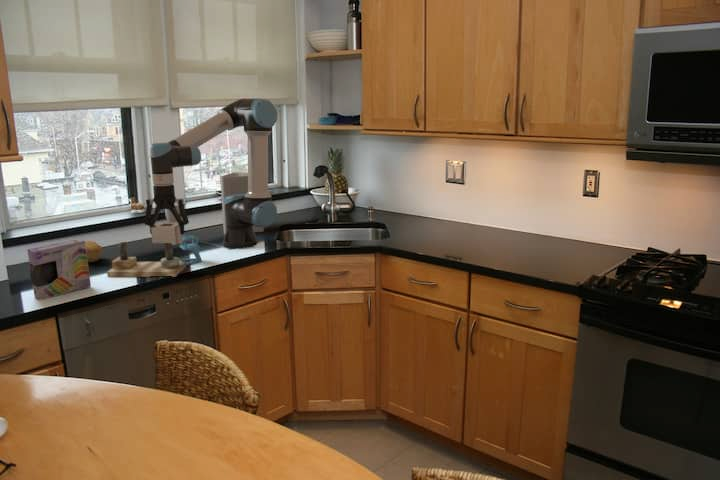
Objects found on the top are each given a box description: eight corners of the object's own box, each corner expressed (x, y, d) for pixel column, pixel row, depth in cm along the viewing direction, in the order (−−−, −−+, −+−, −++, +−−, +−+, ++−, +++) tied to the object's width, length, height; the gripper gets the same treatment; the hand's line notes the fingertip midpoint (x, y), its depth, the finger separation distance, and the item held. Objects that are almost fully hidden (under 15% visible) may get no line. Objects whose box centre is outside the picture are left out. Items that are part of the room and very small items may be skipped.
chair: (203, 263, 255) (201, 234, 252) (183, 266, 251) (181, 237, 248) (197, 258, 261) (195, 230, 259) (178, 261, 257) (175, 233, 254)
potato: (78, 267, 250) (75, 248, 248) (78, 259, 263) (76, 240, 261) (104, 264, 254) (102, 245, 252) (103, 256, 267) (101, 238, 265)
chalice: (170, 246, 283) (167, 206, 279) (164, 243, 288) (160, 204, 284) (185, 243, 288) (182, 204, 283) (179, 240, 293) (176, 202, 288)
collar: (183, 237, 245) (182, 222, 243) (175, 242, 236) (174, 227, 235) (160, 237, 245) (159, 222, 244) (152, 242, 236) (151, 227, 235)
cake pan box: (36, 301, 211) (29, 250, 207) (30, 298, 214) (23, 248, 210) (92, 287, 225) (86, 240, 220) (85, 285, 228) (80, 237, 224)
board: (186, 266, 250) (184, 237, 247) (175, 276, 237) (172, 246, 234) (122, 266, 251) (119, 237, 248) (107, 276, 238) (104, 246, 235)
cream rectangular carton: (256, 225, 323) (254, 171, 317) (264, 231, 310) (261, 175, 303) (219, 229, 316) (216, 173, 309) (225, 235, 303) (221, 177, 296)
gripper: (131, 186, 232) (136, 244, 237) (189, 185, 231) (193, 244, 237) (138, 183, 239) (144, 240, 245) (195, 182, 239) (199, 240, 244)
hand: (168, 242), depth 241 cm, fingers closed on collar, 9 cm apart
